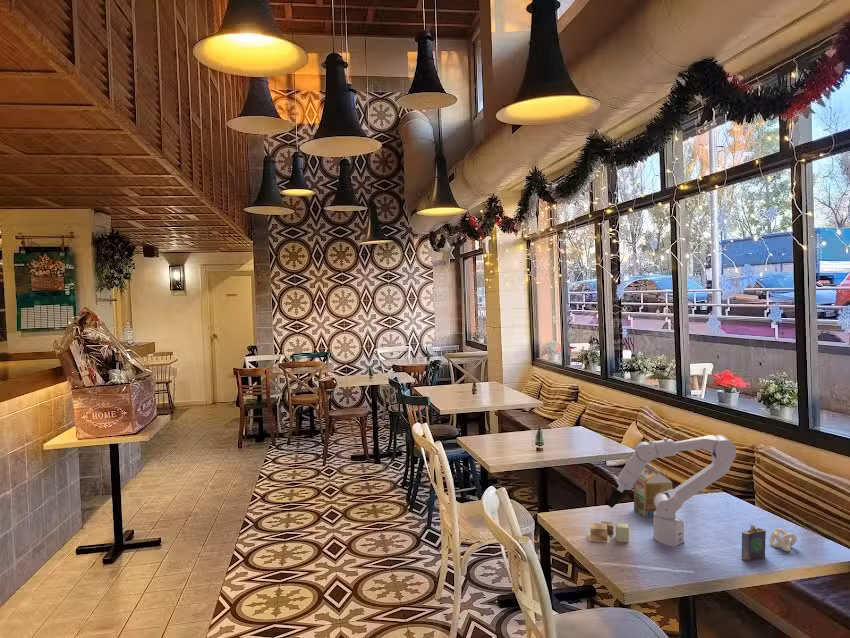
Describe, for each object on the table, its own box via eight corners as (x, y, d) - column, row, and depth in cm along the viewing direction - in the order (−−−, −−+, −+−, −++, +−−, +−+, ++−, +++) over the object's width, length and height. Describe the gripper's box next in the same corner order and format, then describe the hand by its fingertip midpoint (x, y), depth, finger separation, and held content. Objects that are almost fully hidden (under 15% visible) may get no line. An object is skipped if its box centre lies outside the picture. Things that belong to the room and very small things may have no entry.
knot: (762, 545, 203) (762, 528, 203) (779, 541, 206) (779, 525, 206) (782, 553, 196) (782, 536, 196) (799, 550, 199) (799, 532, 199)
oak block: (606, 535, 211) (606, 524, 211) (607, 541, 206) (607, 529, 206) (590, 533, 212) (590, 522, 212) (590, 539, 207) (590, 528, 207)
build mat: (637, 540, 208) (637, 538, 208) (615, 551, 199) (615, 549, 199) (601, 528, 219) (601, 526, 219) (578, 538, 209) (578, 536, 209)
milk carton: (634, 509, 239) (634, 463, 238) (659, 509, 240) (659, 462, 239) (645, 519, 228) (645, 470, 228) (672, 518, 229) (672, 469, 229)
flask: (746, 561, 190) (746, 528, 190) (738, 558, 193) (738, 525, 193) (767, 557, 193) (767, 525, 193) (759, 554, 196) (759, 522, 196)
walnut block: (612, 530, 216) (612, 522, 216) (613, 534, 212) (613, 526, 212) (601, 529, 217) (601, 521, 217) (601, 533, 213) (601, 525, 213)
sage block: (627, 538, 208) (627, 523, 208) (628, 542, 205) (628, 528, 204) (615, 537, 209) (615, 523, 209) (616, 541, 206) (616, 527, 205)
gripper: (622, 462, 218) (603, 492, 220) (618, 469, 205) (597, 501, 207) (640, 474, 215) (620, 504, 217) (637, 481, 202) (616, 513, 204)
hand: (610, 503), depth 212 cm, fingers open, 7 cm apart
